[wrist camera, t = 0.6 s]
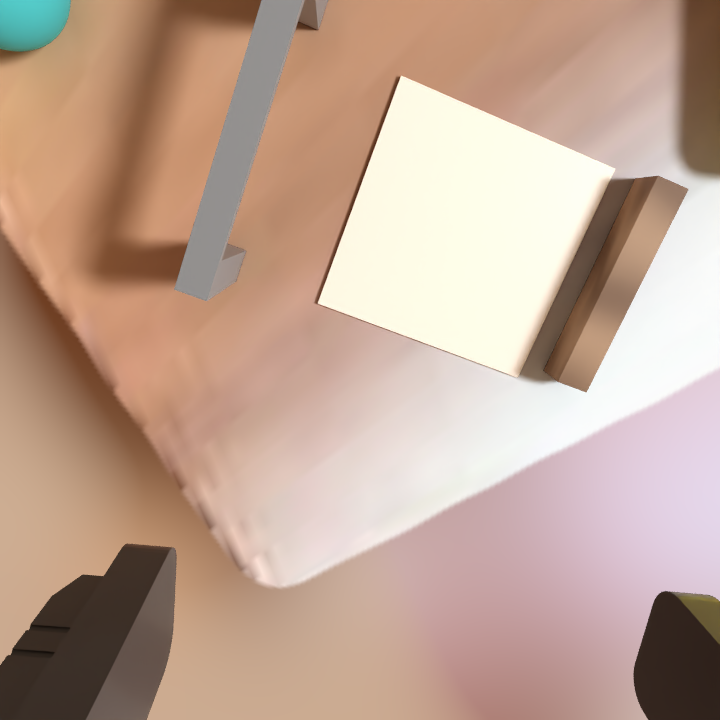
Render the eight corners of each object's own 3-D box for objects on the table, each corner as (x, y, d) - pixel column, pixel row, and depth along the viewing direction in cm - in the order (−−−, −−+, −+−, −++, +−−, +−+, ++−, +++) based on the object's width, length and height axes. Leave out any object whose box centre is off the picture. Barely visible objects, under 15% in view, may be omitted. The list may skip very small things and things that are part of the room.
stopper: (635, 178, 34) (658, 175, 32) (663, 190, 34) (688, 189, 32) (543, 370, 37) (558, 381, 34) (570, 380, 37) (586, 392, 35)
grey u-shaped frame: (303, -20, 31) (291, -101, 23) (330, -8, 31) (328, -83, 23) (211, 272, 34) (174, 289, 26) (236, 281, 35) (206, 301, 27)
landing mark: (400, 76, 32) (400, 75, 32) (613, 169, 34) (615, 168, 34) (317, 303, 35) (317, 303, 35) (516, 376, 37) (517, 377, 37)
